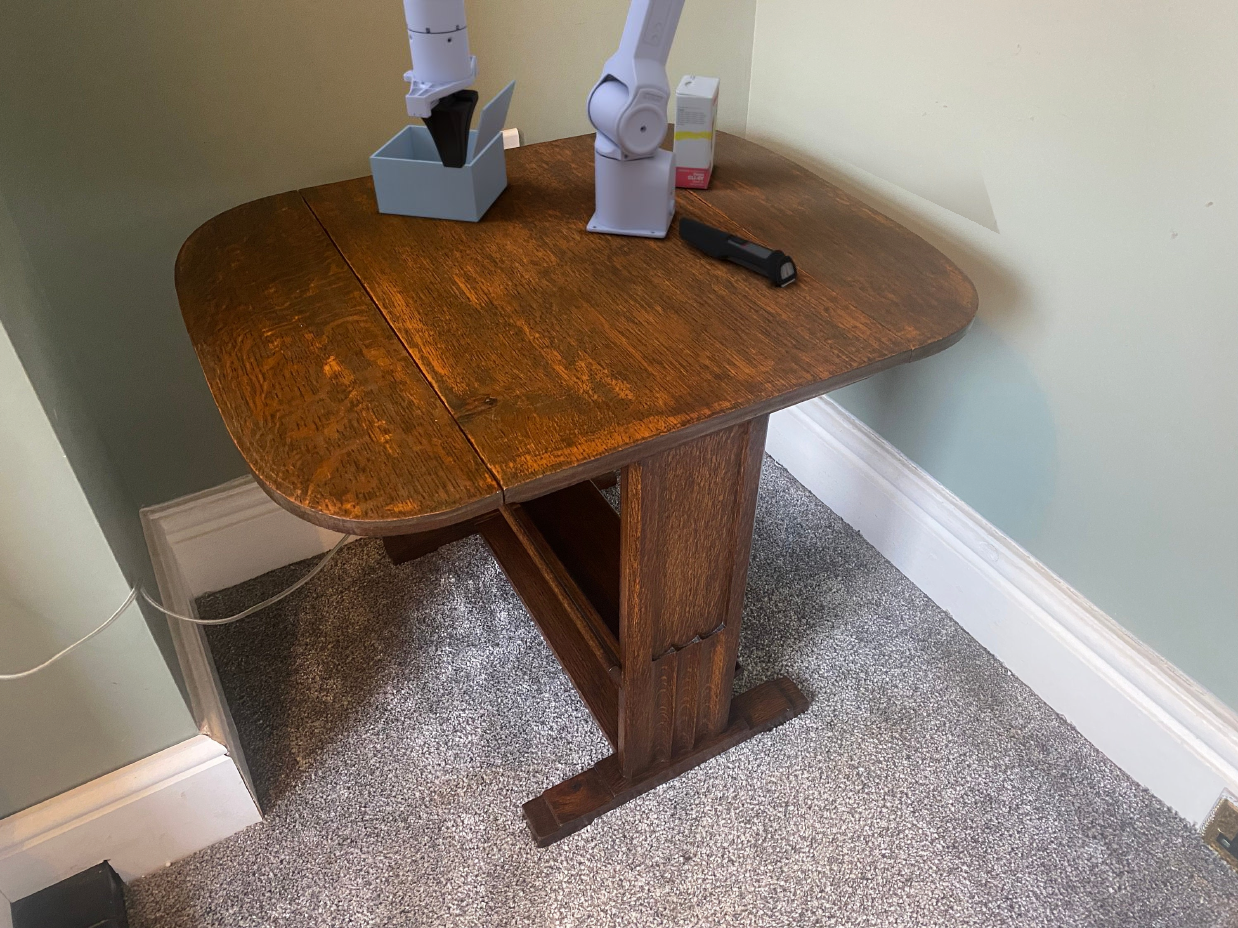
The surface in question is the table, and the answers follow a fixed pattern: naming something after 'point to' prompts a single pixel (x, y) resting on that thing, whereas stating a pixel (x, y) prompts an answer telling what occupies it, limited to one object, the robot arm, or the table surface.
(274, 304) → the table surface
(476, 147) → the panel
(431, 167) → the grey box
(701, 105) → the ink box
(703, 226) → the electric trimmer
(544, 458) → the table surface
